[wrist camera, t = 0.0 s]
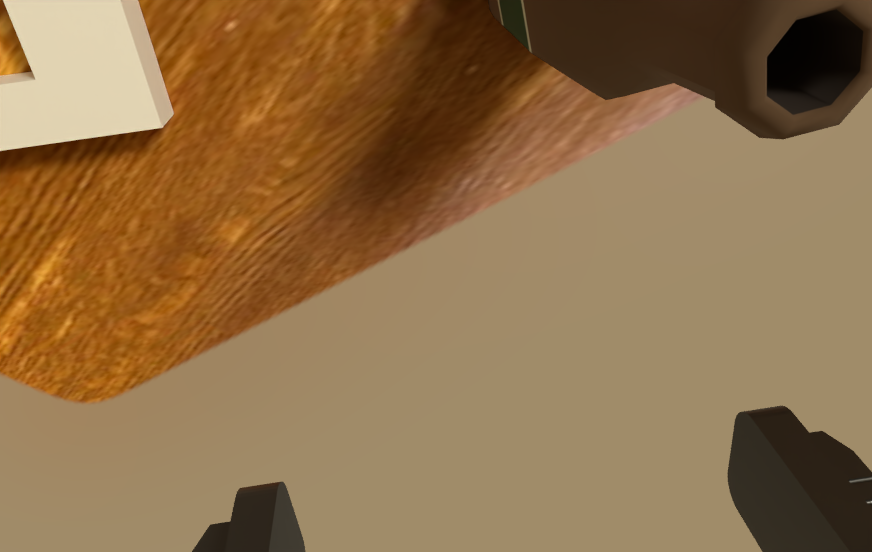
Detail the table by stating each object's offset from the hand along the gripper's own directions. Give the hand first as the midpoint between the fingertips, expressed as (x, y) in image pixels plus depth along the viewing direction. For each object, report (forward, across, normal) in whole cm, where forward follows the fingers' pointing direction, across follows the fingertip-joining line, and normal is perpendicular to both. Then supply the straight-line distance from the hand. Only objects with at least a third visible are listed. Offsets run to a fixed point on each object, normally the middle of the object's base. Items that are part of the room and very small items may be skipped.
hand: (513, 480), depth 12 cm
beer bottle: (+30, -8, -5) cm, 31 cm away
